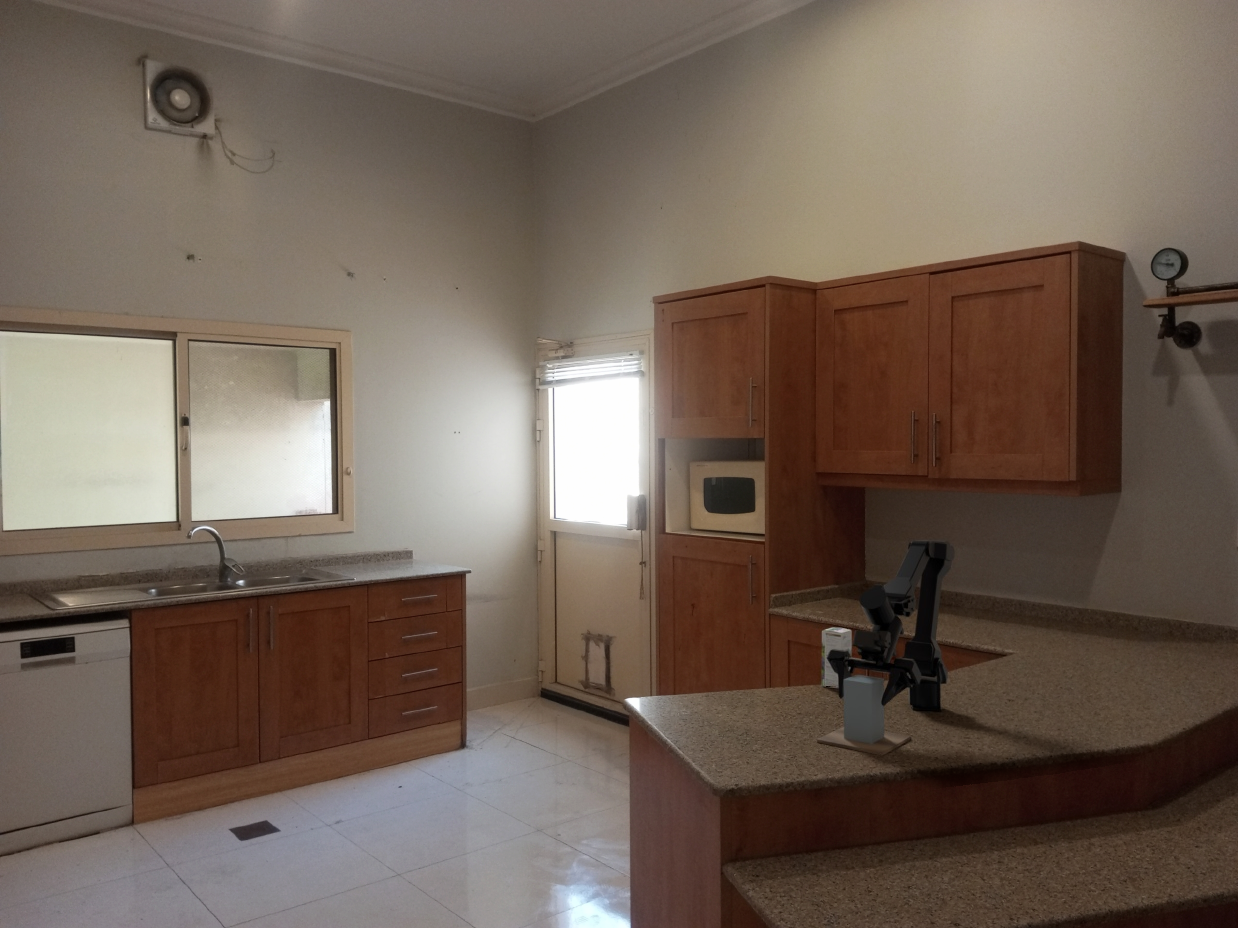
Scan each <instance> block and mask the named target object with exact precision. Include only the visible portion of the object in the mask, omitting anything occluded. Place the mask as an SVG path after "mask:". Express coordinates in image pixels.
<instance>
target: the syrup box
mask: <svg viewBox="0 0 1238 928" xmlns="http://www.w3.org/2000/svg"><path fill="white" fill-rule="evenodd" d="M852 632H853V631H852V630H851V629H849V628H848V629H847V628H843V627H829V628H826V629H823V630H822V631H821V680H820V681H821V685H820V686H821V687H825V688H827V687H826V686H836V687H830V688H832V689H833V688H834V689H838V674H837V673H835V672H834V670H833V669H832V667H831V665H830V663H829V662H828V660H827V656H828V653H829V651H830V650H832V649H838V650H845V651H848V652H849V654H850V655H851V657H852V649H853V648H852V647H853V639H852V638H853V637H852Z"/></svg>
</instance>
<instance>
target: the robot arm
mask: <svg viewBox="0 0 1238 928" xmlns="http://www.w3.org/2000/svg"><path fill="white" fill-rule="evenodd" d="M954 559H955V548H954V546H953V545H951V544H950V542H949V540H937V539H936V540H932V539H913V540H910V541H909V543H908V549H907V552H906V554H905V556H904V558H903V560H902V562H901V564H900V567H899V569H898V570H897V573H896V575H895V577H894V579H892V580H890V581H889V582H887V583H885V584H884V585H883V584H873V586H872V587H871V588H868V589H867V590H865V591H863V593H862V594H861V595H860V596H859V599H858V601H859V604H860V606H861V608H862V611H863V612H864V614H865V616H866V619H867V620H868V623H870V624H871V625H872V628H871V630H870V631H865V630H860V629H859V630H854V635H853V639H852V647H854V648H855V647H856V648H857V652H856V653H857V654H858V656H861V658H859V657H858V658H857V657H852V656H851V655H850V654H849V652H848V651H845V650H838V649H832V650H830V651H829V653H828V656H827V660H828V662H829V663H830V665H831V667H832V669H833V670H834V672H835V673H837V674H838V688H837V689H838V690H837V691H838V697H839V699H842V700H843V699H844V679H846V678H849V677H851V676H852V675H853V674H854V672H855V669H861V670H866V671H871V672H878V673H884V674H885V673H886V674H889V679H888V681H887V684H886V687H885V688H884V694H883V697H882V701H881V704H882V706H884V707H885V706H886V705H887V704H888V703H889V702H891V701H892V700H893V699H894V698H895V697H897V695H899V694H900V693H902V692H903V691H904V690H906V689H908V705H910V706H911V710H919V711H933V712H934V711H936V712H938V711H939V712H942V711H943V707H942V705H941V704H942V703H941V702H942V701H941V700H942V699H941V693H942V692H941V688H942V687H941V686H942V685H945V684H948V677H949V676H948V675H949V673H948V669H947V667H946V666H945V663H944V661H943V660H944V659H942V653H943V652H942V649H941V648H940V646H939V644H938V641H937V630H938V623H939V611H940V603H941V593H942V587H943V579H944V577H946V575H947V574H948V573H949V571H950V570H951V568H952V562H953V561H954ZM919 582H920V584H919ZM918 584H919V593H918V594H919V595H918V602H917V598H916V596H915V591H916V589H917V586H918ZM916 608H917V610H916ZM915 610H916V611H917V612H916V618H915V621H916V622H915V629H914V635H913V636H912V638H911V639H910V640H907V641H906V642H905V644H904V653H903V655H902V657H896V655H897V650H896V647H897V643H898V641H899V638H900V635H902V636H903V635H904V634H905V632H904V630H905V629H904V628H903V625H904V623H903V622H902V620H901V618H900V617H902V618H910V617H911V616H912V614H913V613H914V612H915ZM892 657H895V658H894V660H893V663H892V662H891V661H892Z"/></svg>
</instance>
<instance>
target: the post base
mask: <svg viewBox="0 0 1238 928" xmlns="http://www.w3.org/2000/svg"><path fill="white" fill-rule="evenodd" d="M911 740H912V736H911V735H906V734H900V733H896V732H891V731H886V730H884V737H883V738H882V739H880V740H878V741H876V742H874V743H873V744H870V743H865V742H860V741H855V740H849V739H844V726H842V727H840V728H838V729H836V730H834V731H831V732H829V733H828V734H825V735H823V736H821V737H819V738H817V739H816V743H820V744H824V745H829V746H832V747H833V746H834V747H839V748H844V749H848V750H854V751H859V752H864V753H869V754H873V755H879V756H884V755H886V754H888V753H889V752H891V751H894V749H896V748H898V747H899V746H902V745H903V744H905V743H907V742H909V741H911Z"/></svg>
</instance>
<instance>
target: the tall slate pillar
mask: <svg viewBox="0 0 1238 928" xmlns="http://www.w3.org/2000/svg"><path fill="white" fill-rule="evenodd" d="M884 691H885V679H884V678H883V677H877V676H869V675H863V674H854V675H851V677H849V678H846V679H844V696H843V727H844V739H849V740H855V741H860V742H865V743H870V744H873V743H874V742H876V741H878V740H880V739H882V738H883V737H884V731H885V706H882V704H881V701H882V697H883V694H884Z"/></svg>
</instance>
